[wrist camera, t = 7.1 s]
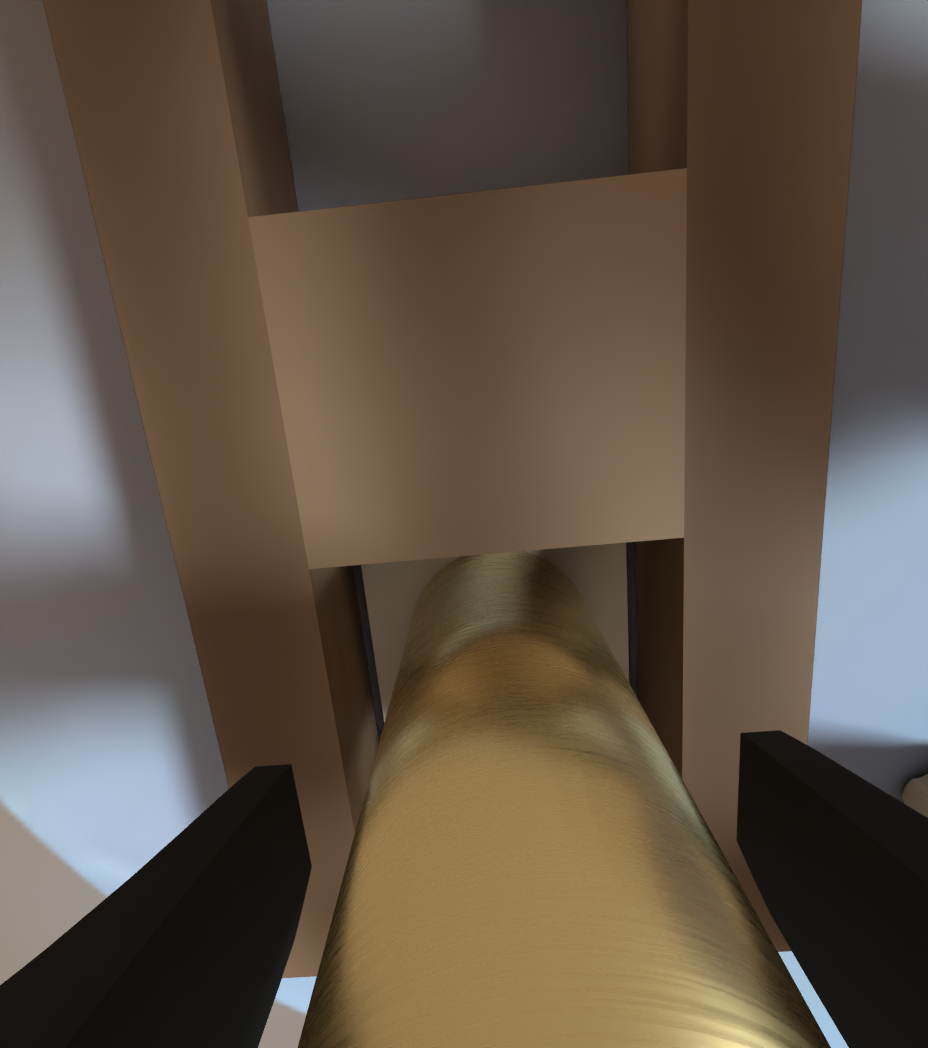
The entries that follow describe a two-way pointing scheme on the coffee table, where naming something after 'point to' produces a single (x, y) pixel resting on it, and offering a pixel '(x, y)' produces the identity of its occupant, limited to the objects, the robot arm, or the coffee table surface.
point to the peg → (536, 852)
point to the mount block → (481, 382)
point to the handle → (917, 794)
